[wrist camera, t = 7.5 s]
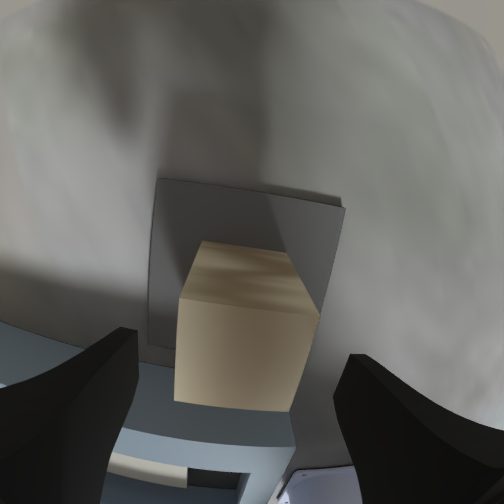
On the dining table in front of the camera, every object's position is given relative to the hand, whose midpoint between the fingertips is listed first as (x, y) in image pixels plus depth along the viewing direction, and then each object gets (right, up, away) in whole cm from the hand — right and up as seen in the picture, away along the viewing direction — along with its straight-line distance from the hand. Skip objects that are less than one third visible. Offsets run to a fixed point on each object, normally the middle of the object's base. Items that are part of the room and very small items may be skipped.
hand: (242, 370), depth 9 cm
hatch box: (-11, -12, +11) cm, 20 cm away
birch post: (0, +2, +7) cm, 8 cm away
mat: (0, +2, +8) cm, 8 cm away
